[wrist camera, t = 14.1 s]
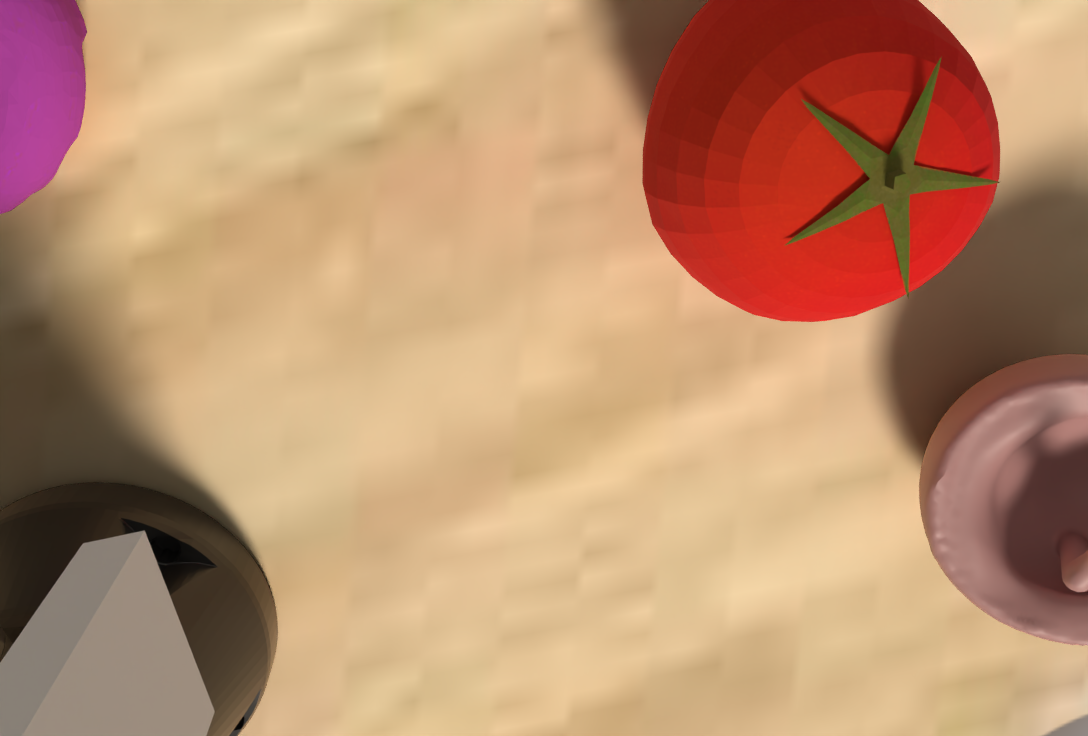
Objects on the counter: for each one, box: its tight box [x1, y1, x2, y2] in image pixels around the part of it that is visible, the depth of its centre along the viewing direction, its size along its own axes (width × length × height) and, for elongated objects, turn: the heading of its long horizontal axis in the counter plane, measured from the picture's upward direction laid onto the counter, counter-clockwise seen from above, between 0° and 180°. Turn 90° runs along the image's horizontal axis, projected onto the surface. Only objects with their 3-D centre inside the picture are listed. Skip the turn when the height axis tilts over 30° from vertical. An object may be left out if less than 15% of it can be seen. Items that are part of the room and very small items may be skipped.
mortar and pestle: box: [919, 354, 1088, 646], centre depth 43 cm, size 12×12×12 cm
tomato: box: [643, 0, 1000, 322], centre depth 36 cm, size 13×11×14 cm
